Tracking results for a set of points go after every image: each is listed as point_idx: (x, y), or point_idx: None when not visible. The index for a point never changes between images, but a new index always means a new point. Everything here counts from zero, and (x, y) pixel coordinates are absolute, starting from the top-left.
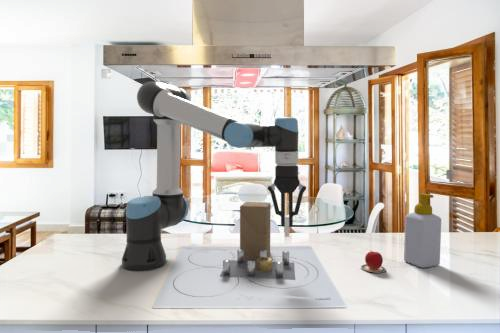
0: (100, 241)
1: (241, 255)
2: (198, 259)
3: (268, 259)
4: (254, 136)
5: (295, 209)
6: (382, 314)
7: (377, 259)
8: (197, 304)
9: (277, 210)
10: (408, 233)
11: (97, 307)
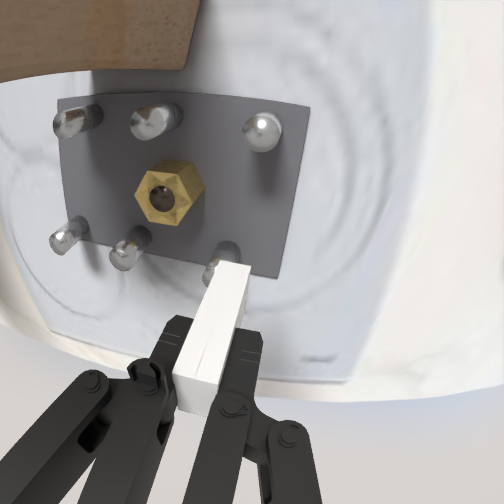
0: None
1: (78, 133)
2: (3, 103)
3: (176, 202)
4: None
5: (261, 487)
6: (387, 395)
7: None
8: (92, 337)
9: (103, 433)
10: None
11: (8, 313)
